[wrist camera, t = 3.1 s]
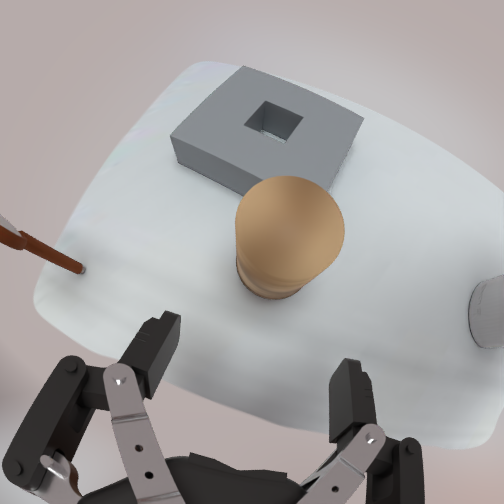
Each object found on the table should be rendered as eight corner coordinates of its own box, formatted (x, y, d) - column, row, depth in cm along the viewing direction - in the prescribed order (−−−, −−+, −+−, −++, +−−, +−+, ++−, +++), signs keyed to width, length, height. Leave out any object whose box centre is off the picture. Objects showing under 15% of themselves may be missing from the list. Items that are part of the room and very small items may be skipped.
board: (350, 143, 32) (364, 118, 27) (305, 230, 28) (317, 209, 23) (242, 93, 34) (243, 65, 29) (178, 162, 30) (169, 135, 25)
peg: (308, 264, 27) (360, 208, 15) (279, 317, 26) (315, 301, 13) (256, 235, 28) (269, 158, 15) (225, 285, 26) (211, 241, 14)
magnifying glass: (115, 280, 26) (-37, 191, 7) (108, 295, 25) (-52, 224, 6) (61, 248, 27) (-64, 161, 7) (55, 261, 26) (-75, 183, 7)
